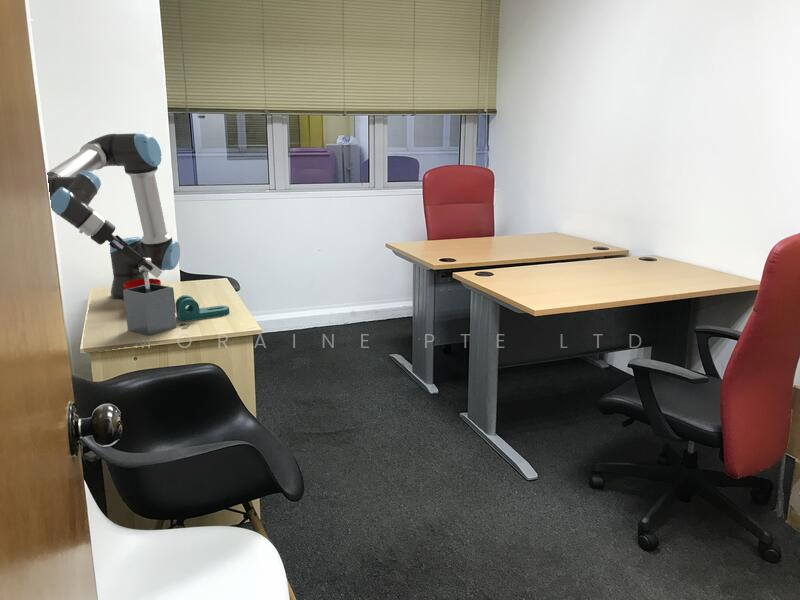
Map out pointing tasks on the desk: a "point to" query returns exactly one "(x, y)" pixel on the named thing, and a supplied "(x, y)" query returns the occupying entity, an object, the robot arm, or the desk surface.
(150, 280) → the ceramic cup
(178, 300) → the bracket
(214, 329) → the desk surface
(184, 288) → the desk surface
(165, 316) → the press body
